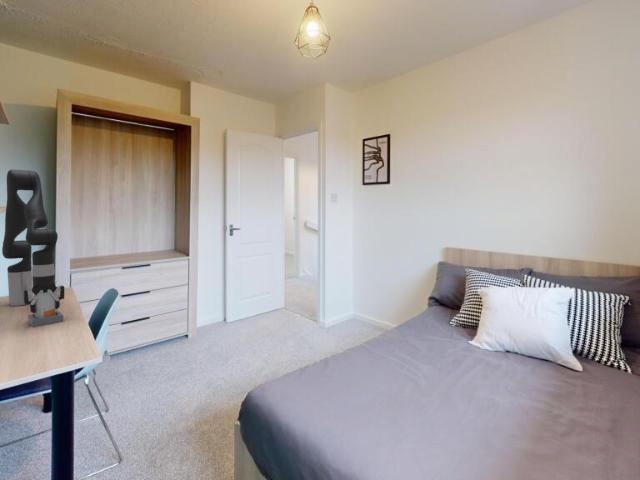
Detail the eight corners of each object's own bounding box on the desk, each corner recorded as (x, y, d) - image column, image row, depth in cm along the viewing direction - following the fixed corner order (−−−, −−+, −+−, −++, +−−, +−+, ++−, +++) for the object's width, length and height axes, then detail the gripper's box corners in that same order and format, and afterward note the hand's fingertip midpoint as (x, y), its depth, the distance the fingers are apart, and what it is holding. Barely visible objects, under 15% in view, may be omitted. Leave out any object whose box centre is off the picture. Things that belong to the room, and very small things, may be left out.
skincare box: (42, 320, 140) (41, 293, 139) (34, 320, 140) (33, 293, 140) (56, 316, 146) (55, 290, 145) (48, 315, 146) (47, 289, 145)
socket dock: (28, 321, 142) (27, 314, 142) (57, 316, 150) (57, 309, 150) (32, 327, 136) (32, 320, 136) (63, 321, 144) (63, 314, 143)
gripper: (62, 271, 149) (63, 306, 151) (20, 275, 138) (22, 312, 140) (66, 273, 144) (67, 309, 146) (23, 277, 134) (24, 316, 135)
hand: (45, 310), depth 143 cm, fingers closed on skincare box, 7 cm apart
